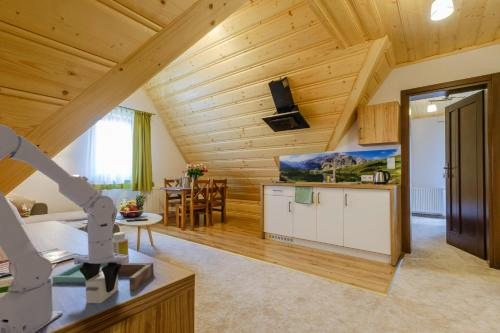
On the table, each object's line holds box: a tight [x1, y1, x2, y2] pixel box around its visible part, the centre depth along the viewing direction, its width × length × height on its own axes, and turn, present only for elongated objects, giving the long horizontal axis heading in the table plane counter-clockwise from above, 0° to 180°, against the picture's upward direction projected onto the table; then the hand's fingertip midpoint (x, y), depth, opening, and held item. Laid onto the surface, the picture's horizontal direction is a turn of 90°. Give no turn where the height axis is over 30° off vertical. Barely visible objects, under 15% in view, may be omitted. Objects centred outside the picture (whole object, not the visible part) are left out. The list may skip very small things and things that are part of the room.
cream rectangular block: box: [85, 271, 119, 304], centre depth 67 cm, size 8×4×6 cm, turn 173°
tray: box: [51, 264, 108, 285], centre depth 82 cm, size 13×13×2 cm
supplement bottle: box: [113, 231, 129, 255], centre depth 93 cm, size 6×6×10 cm
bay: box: [99, 262, 155, 291], centre depth 76 cm, size 10×14×4 cm
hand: (102, 290), depth 67 cm, fingers closed on cream rectangular block, 4 cm apart
